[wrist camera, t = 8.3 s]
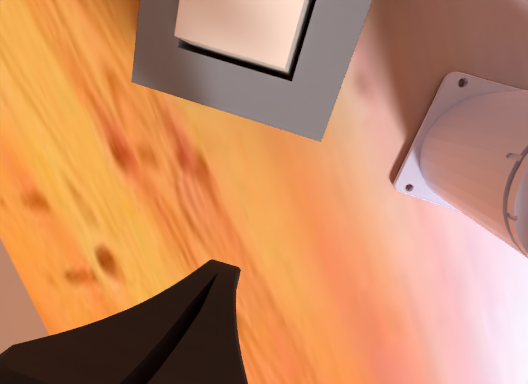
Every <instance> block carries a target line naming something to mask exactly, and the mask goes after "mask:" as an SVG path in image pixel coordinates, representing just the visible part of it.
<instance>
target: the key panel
mask: <svg viewBox="0 0 528 384" xmlns="http://www.w3.org/2000/svg"><path fill="white" fill-rule="evenodd" d="M371 2H372V0H316V2H315V6H314V9H313V13H312V16H311V19H310V23H309V26H308V29H307V33H306V36H305V39H304V43H303V46H302V49H301V53H300V56H299V59H298V63H297V66H296V69H295V73H294V76H293V79H292V81H288V80H285V79H282V78H278V77H275V76H271V75H268V74H265V73H261V72H258V71H255V70H251V69H248V68H245V67H241V66H238V65H235V64H231V63H228V62H225V61H221V60H218V59H215V58H211V57H208V56H206V53H207V51H205V50H201V49H198V48H196V47H194V46H193V45H191V44H189V43H187V42H185V41H183V40H181V39H179V38H178V37H176V36H174V34H175V27H176V21H177V14H178V7H179V0H140V3H139V13H138V23H137V33H136V43H135V53H134V62H133V72H132V82H133V83H136V84H139V85H142V86H145V87H149V88H152V89H155V90H158V91H161V92H164V93H168V94H171V95H174V96H177V97H180V98H183V99H187V100H190V101H193V102H196V103H199V104H202V105H206V106H209V107H212V108H215V109H218V110H221V111H225V112H228V113H231V114H234V115H237V116H240V117H244V118H247V119H250V120H253V121H256V122H259V123H263V124H266V125H269V126H272V127H275V128H279V129H282V130H285V131H288V132H291V133H294V134H298V135H301V136H304V137H307V138H310V139H313V140H317V141H320V142H321V141H322V138H323V135H324V132H325V129H326V127H327V124H328V121H329V118H330V116H331V113H332V110H333V107H334V105H335V102H336V99H337V96H338V93H339V91H340V88H341V85H342V82H343V80H344V77H345V74H346V71H347V69H348V66H349V63H350V60H351V58H352V55H353V52H354V49H355V46H356V44H357V41H358V38H359V35H360V33H361V30H362V27H363V24H364V22H365V19H366V16H367V13H368V11H369V8H370V5H371Z"/></svg>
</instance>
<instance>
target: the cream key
mask: <svg viewBox="0 0 528 384" xmlns="http://www.w3.org/2000/svg"><path fill="white" fill-rule="evenodd" d="M311 2H312V0H179V7H178V14H177V21H176V27H175V34H174V36H176V37H178V38H179V39H181V40H183V41H185V42H187V43H189V44H191V45H193V46H194V47H196V48H198V49H201V50H205V51H208V52H211V53H215V54H218V55H222V56H225V57H228V58H232V59H235V60H238V61H242V62H245V63H248V64H252V65H255V66H259V67H262V68H265V69H269V70H272V71H275V72H279V73H282V74H285V75H289V76H290V74H291V70H292V67H293V64H294V60H295V57H296V53H297V50H298V47H299V43H300V40H301V36H302V33H303V30H304V26H305V23H306V19H307V16H308V13H309V9H310V6H311Z"/></svg>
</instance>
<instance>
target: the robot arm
mask: <svg viewBox="0 0 528 384" xmlns="http://www.w3.org/2000/svg"><path fill="white" fill-rule="evenodd" d="M460 79H463V80H464V85H463V86H462V87H460V86H459V85H458V82H459V80H460ZM408 184H411V185H412V186H411V188H410V189H409V190H406V189H405V187H406V186H407V185H408ZM393 187H394V188H395V190H396V191H398V192H401V193H404V194H407V195H410V196H413V197H416V198H419V199H422V200H425V201H429V202H432V203H435V204H438V205H441V206H444V207H447V208H450V209H453V210H456V211H459V212H462V213H463V214H465V215H466V216H468V217H469V218H470V219H472V220H473V221H475V222H476V223H478V224H479V225H481V226H482V227H484V228H485V229H486V230H488V231H489V232H491V233H492V234H494V235H495V236H497V237H498V238H499V239H501V240H502V241H504V242H505V243H507V244H508V245H510V246H511V247H512V248H514V249H515V250H517V251H518V252H520V253H521V254H523V255H524V256H526V257H527V258H528V90H522V89H519V88H515V87H512V86H508V85H505V84H501V83H497V82H494V81H490V80H487V79H483V78H480V77H476V76H472V75H469V74H465V73H462V72H457V71H455V72H451V73H449V74H447V75H446V76H445V78H444V79H443V81H442V83H441V85H440V87H439V90H438V92H437V94H436V96H435V98H434V100H433V102H432V104H431V106H430V108H429V110H428V112H427V114H426V116H425V118H424V121H423V123H422V125H421V127H420V129H419V131H418V133H417V135H416V137H415V139H414V141H413V143H412V145H411V147H410V149H409V151H408V154H407V156H406V158H405V160H404V162H403V164H402V166H401V168H400V170H399V172H398V174H397V176H396V178H395V180H394V183H393ZM240 271H241V270H240V268H239V267H236V266H233V265H229V264H226V263H223V262H219V261H216V260H212V259H211V260H210V261H208V262H207V263H205V264H204V265H203V266H201V267H200V268H198V269H197V270H196V271H194V272H193V273H191V274H190V275H188V276H187V277H185V278H184V279H182V280H181V281H179V282H178V283H176V284H175V285H173V286H171V287H170V288H168V289H166V290H164V291H163V292H161V293H159V294H158V295H156V296H154V297H152V298H150V299H148V300H146V301H144V302H142V303H140V304H138V305H136V306H134V307H132V308H130V309H127V310H125V311H122V312H120V313H117V314H115V315H112V316H110V317H107V318H105V319H102V320H99V321H97V322H94V323H91V324H88V325H85V326H82V327H79V328H75V329H72V330H69V331H66V332H62V333H59V334H55V335H51V336H47V337H43V338H39V339H35V340H32V341H28V342H24V343H19V344H15V345H12V346H11V347H9V348H8V349H7V350H5V351H4V352H3V353H1V354H0V384H248V382H247V378H246V373H245V369H244V365H243V361H242V356H241V351H240V345H239V338H238V331H237V320H236V289H237V285H238V280H239V276H240Z"/></svg>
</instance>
